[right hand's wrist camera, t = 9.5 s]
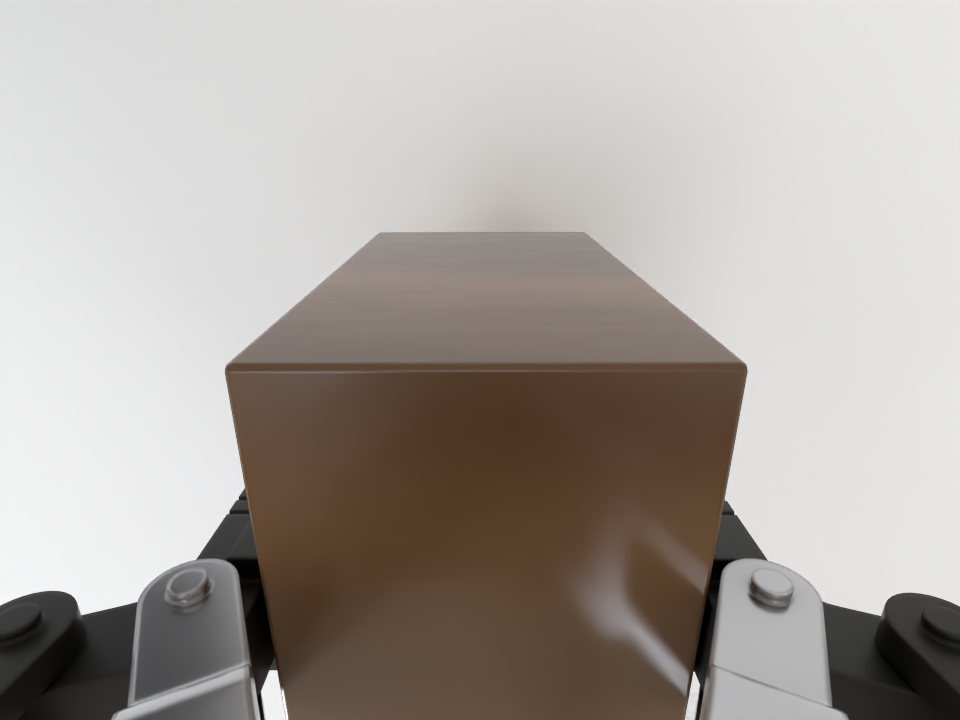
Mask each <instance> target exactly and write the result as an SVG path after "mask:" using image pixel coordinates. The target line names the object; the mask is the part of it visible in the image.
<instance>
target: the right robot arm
mask: <svg viewBox="0 0 960 720" xmlns="http://www.w3.org/2000/svg"><path fill="white" fill-rule="evenodd" d="M269 670H277V665H276V660H275V654H274V648H273V643H272V637H271V631H270V625H269V620H268V614H267V608H266V603H265V597H264V591H263V586H262V580H261V574H260V569H259V563H258V557H257V552H256V546H255V540H254V535H253V529H252V523H251V518H250V512H249V506H248V500H247V495H246V489H244V490H243V492H242V493H241V495H240V496H239V500H237V501H236V502H235V504H234V505H233V506H232V508H231V509H230V513H229V514H227V515H226V517H225V518H224V520H223V521H222V523H221V524H220V526H219V527H218V529H217V530H216V531H215V533H214V534H213V536H212V537H211V539H210V540H209V542H208V543H207V545H206V546H205V548H204V549H203V551H202V552H201V554H200V555H199V556H198V558H197V559H196V560H194V561H189V562H186V563H183V564H180V565H178V566H176V567H173V568H171V569H169V570H167V571H166V572H164V573H162V574H161V575H159V576H158V577H157V578H155V579H154V580H153V581H152V582H151V583H150V584H149V585H148V586H147V587H146V588H145V589H144V591H143V592H142V593H141V595H140V597H139V600H138V602H136V603H132V604H129V605H124V606H120V607H116V608H111V609H107V610H103V611H98V612H94V613H90V614H85V615H81V614H80V610H79V607H78V604H77V602H76V600H75V598H74V597H73V596H71V595H70V594H68V593H65V592H60V591H45V592H38V593H33V594H29V595H26V596H22V597H20V598H17V599H14V600H12V601H9V602H7V603H5V604H3V605H1V606H0V720H266V717H265V710H264V704H263V698H262V693H261V690H262V687H263V685H264V682H265V680H266V677H267V675H268V672H269ZM693 672H695V673H696V676H697V678H698V681H699V683H700V688H699V693H698V698H697V704H696V710H695V717H694V720H960V606H957V605H955V604H953V603H951V602H948V601H945V600H943V599H940V598H937V597H933V596H930V595H924V594H918V593H902V594H897V595H894V596H892V597H891V598H889V599H888V600H887V602H886V604H885V607H884V610H883V613H882V616H878V615H873V614H869V613H865V612H860V611H856V610H852V609H847V608H843V607H839V606H835V605H831V604H827V603H825V602H822V600H821V597H820V595H819V594H818V592H817V591H816V589H815V588H814V587H813V586H812V585H811V584H810V583H809V582H808V581H807V580H806V579H805V578H803V577H802V576H801V575H799V574H798V573H796V572H794V571H792V570H791V569H789V568H787V567H784V566H782V565H780V564H777V563H774V562H771V561H768V560H767V559H766V557H765V556H764V554H763V553H762V551H761V550H760V549H759V547H758V546H757V544H756V543H755V541H754V540H753V538H752V537H751V536H750V534H749V533H748V531H747V530H746V528H745V527H744V525H743V524H742V522H741V521H740V520H739V518H738V517H737V515H734V511H733V509H732V508H731V506H730V505H729V504H728V502H727V501H725V499H724V504H723V510H722V515H721V521H720V526H719V532H718V537H717V543H716V549H715V554H714V560H713V565H712V571H711V576H710V582H709V587H708V593H707V598H706V604H705V609H704V615H703V620H702V626H701V632H700V637H699V643H698V648H697V654H696V659H695V665H694V670H693Z"/></svg>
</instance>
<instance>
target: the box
mask: <svg viewBox="0 0 960 720" xmlns="http://www.w3.org/2000/svg"><path fill="white" fill-rule="evenodd" d="M225 375H226V381H227V387H228V393H229V398H230V404H231V410H232V415H233V421H234V427H235V432H236V438H237V444H238V449H239V455H240V461H241V466H242V472H243V478H244V483H245V489H246V495H247V500H248V506H249V512H250V518H251V523H252V529H253V535H254V540H255V546H256V552H257V557H258V563H259V569H260V574H261V580H262V586H263V591H264V597H265V603H266V608H267V614H268V620H269V625H270V631H271V637H272V643H273V648H274V654H275V660H276V665H277V671H278V677H279V682H280V688H281V694H282V699H283V705H284V711H285V716H286V720H685V715H686V709H687V703H688V698H689V692H690V687H691V681H692V676H693V670H694V665H695V659H696V654H697V648H698V643H699V637H700V632H701V626H702V620H703V615H704V609H705V604H706V598H707V593H708V587H709V582H710V576H711V571H712V565H713V560H714V554H715V549H716V543H717V537H718V532H719V526H720V521H721V515H722V510H723V504H724V499H725V493H726V488H727V482H728V477H729V471H730V466H731V460H732V455H733V449H734V443H735V438H736V432H737V427H738V421H739V416H740V410H741V405H742V399H743V394H744V388H745V383H746V377H747V366H746V364H745V363H744V362H743V361H742V360H740V359H739V358H738V357H737V356H736V355H734V354H733V353H732V352H731V351H729V350H728V349H727V348H726V347H725V346H723V345H722V344H721V343H720V342H718V341H717V340H716V339H715V338H713V337H712V336H711V335H710V334H709V333H707V332H706V331H705V330H704V329H702V328H701V327H700V326H699V325H698V324H696V323H695V322H694V321H693V320H691V319H690V318H689V317H688V316H686V315H685V314H684V313H683V312H682V311H680V310H679V309H678V308H677V307H675V306H674V305H673V304H672V303H671V302H669V301H668V300H667V299H666V298H664V297H663V296H662V295H661V294H659V293H658V292H657V291H656V290H655V289H653V288H652V287H651V286H650V285H648V284H647V283H646V282H645V281H644V280H642V279H641V278H640V277H639V276H637V275H636V274H635V273H634V272H632V271H631V270H630V269H629V268H628V267H626V266H625V265H624V264H623V263H621V262H620V261H619V260H618V259H617V258H615V257H614V256H613V255H612V254H610V253H609V252H608V251H607V250H605V249H604V248H603V247H602V246H601V245H599V244H598V243H597V242H596V241H594V240H593V239H592V238H591V237H590V236H588V235H587V234H586V233H584V232H431V233H379V234H378V235H376V236H375V237H374V238H373V239H372V240H371V241H369V242H368V243H367V244H366V245H365V246H364V247H363V248H361V249H360V250H359V251H358V252H357V253H356V254H354V255H353V256H352V257H351V258H350V259H349V260H347V261H346V262H345V263H344V264H343V265H342V266H341V267H339V268H338V269H337V270H336V271H335V272H334V273H332V274H331V275H330V276H329V277H328V278H327V279H325V280H324V281H323V282H322V283H321V284H320V285H319V286H317V287H316V288H315V289H314V290H313V291H312V292H310V293H309V294H308V295H307V296H306V297H305V298H303V299H302V300H301V301H300V302H299V303H298V304H296V305H295V306H294V307H293V308H292V309H291V310H290V311H288V312H287V313H286V314H285V315H284V316H283V317H281V318H280V319H279V320H278V321H277V322H276V323H274V324H273V325H272V326H271V327H270V328H269V329H268V330H266V331H265V332H264V333H263V334H262V335H261V336H259V337H258V338H257V339H256V340H255V341H254V342H252V343H251V344H250V345H249V346H248V347H247V348H246V349H244V350H243V351H242V352H241V353H240V354H239V355H237V356H236V357H235V358H234V359H233V360H232V361H230V362H229V363H228V364H227V365H226V369H225Z"/></svg>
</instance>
